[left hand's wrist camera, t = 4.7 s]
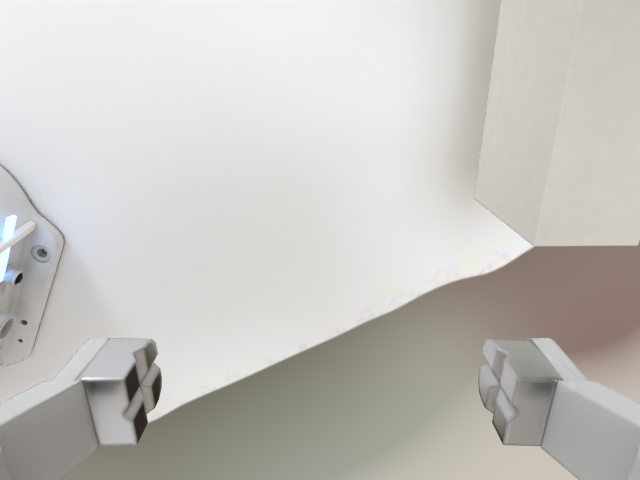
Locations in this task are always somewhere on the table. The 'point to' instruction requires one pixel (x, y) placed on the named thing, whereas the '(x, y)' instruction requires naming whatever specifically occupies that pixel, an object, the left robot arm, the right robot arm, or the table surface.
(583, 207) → the bar
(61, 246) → the left robot arm
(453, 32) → the table surface
